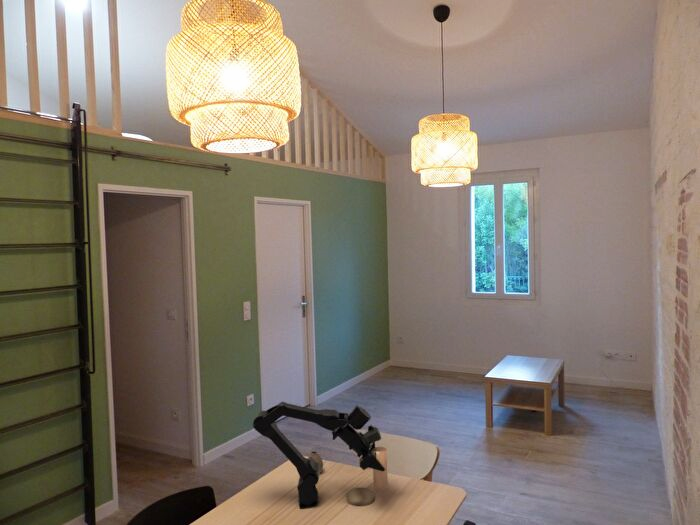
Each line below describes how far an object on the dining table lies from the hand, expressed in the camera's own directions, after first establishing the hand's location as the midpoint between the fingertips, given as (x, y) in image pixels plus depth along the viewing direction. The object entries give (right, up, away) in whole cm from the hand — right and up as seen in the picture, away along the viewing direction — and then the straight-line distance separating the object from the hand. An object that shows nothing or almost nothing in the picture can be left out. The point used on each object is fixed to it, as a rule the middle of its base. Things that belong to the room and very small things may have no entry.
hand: (383, 466), depth 188 cm
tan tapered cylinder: (-1, -7, 0) cm, 7 cm away
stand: (-8, -12, +2) cm, 15 cm away
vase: (-26, -13, +26) cm, 39 cm away
